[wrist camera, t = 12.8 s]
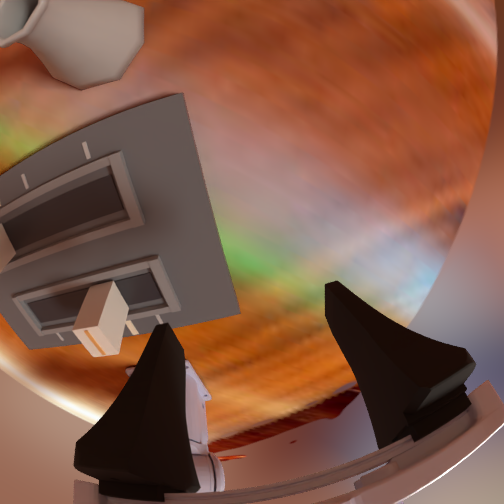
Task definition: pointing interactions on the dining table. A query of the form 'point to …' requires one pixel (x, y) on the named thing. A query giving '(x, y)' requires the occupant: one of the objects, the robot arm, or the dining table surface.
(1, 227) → the fader
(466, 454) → the robot arm
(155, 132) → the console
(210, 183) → the dining table surface
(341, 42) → the dining table surface
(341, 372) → the dining table surface
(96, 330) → the fader
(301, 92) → the dining table surface
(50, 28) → the flask
